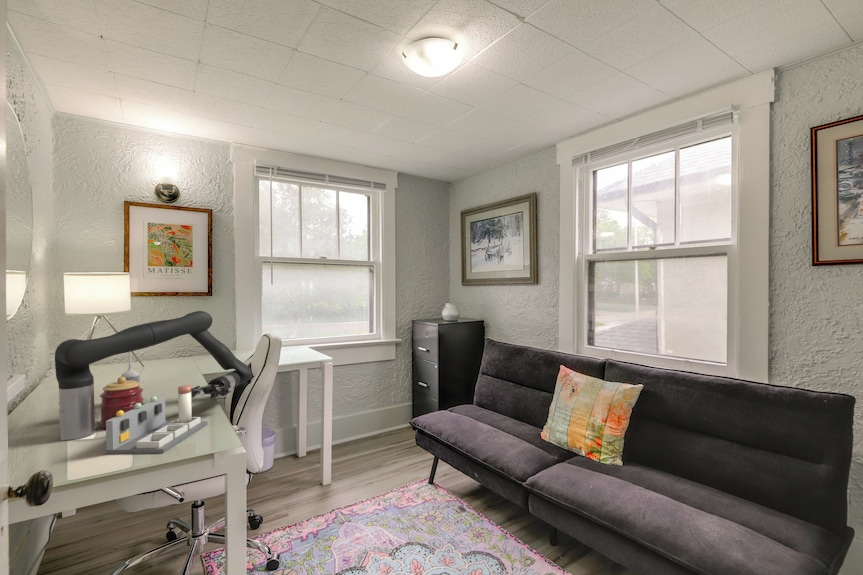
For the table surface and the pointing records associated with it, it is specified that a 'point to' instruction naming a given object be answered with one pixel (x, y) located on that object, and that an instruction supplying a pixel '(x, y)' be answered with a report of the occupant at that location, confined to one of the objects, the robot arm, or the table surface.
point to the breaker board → (147, 430)
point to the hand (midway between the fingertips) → (200, 395)
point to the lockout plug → (184, 404)
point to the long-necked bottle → (131, 372)
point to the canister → (119, 398)
